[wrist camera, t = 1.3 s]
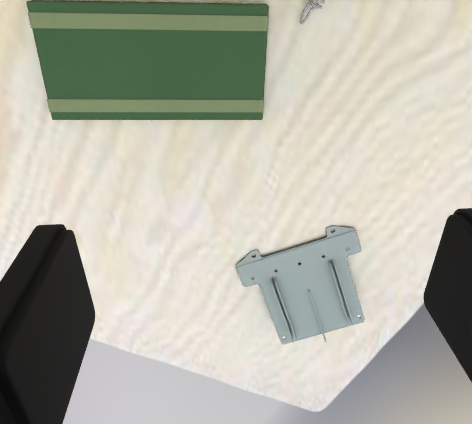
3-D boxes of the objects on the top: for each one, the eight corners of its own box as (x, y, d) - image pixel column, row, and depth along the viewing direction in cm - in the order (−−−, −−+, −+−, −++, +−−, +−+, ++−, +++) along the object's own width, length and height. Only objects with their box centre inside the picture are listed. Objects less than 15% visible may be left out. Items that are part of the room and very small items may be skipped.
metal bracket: (387, 330, 50) (269, 363, 52) (373, 306, 55) (268, 336, 57) (356, 224, 46) (231, 263, 48) (345, 210, 52) (233, 246, 54)
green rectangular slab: (32, -1, 35) (25, 1, 33) (266, 4, 36) (269, 5, 35) (56, 115, 40) (51, 120, 39) (261, 115, 41) (262, 120, 40)
